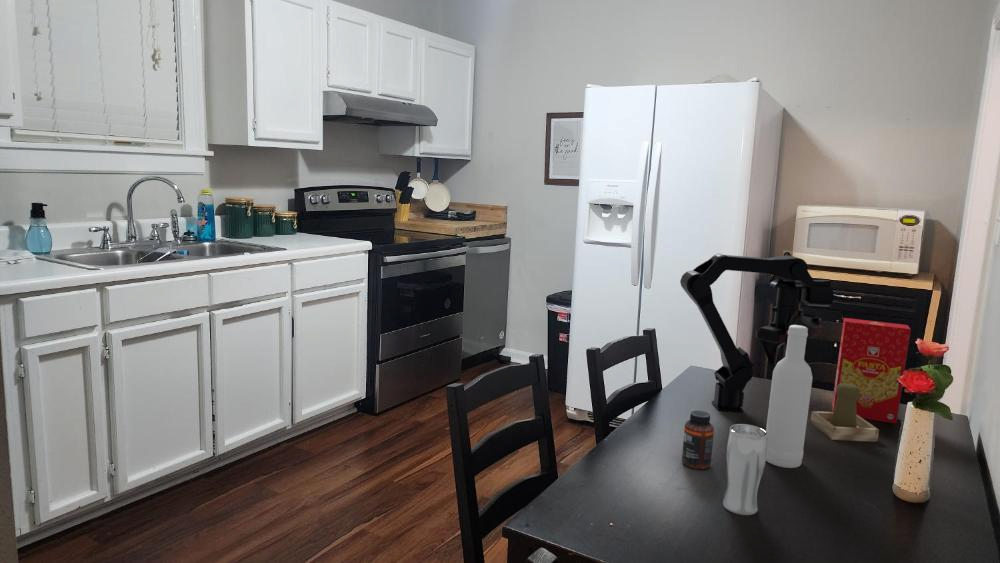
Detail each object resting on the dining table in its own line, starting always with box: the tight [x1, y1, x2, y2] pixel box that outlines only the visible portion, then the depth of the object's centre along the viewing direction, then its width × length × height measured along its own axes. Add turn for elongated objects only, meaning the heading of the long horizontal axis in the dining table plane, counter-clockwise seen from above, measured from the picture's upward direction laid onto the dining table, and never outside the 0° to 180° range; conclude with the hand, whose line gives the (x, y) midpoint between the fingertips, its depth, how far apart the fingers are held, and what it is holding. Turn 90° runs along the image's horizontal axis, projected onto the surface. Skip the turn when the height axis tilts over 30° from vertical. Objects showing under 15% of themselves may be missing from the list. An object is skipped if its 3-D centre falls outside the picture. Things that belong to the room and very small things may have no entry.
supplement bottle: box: [681, 410, 715, 470], centre depth 142 cm, size 6×6×11 cm
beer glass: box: [722, 423, 768, 516], centre depth 124 cm, size 7×7×15 cm
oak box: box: [810, 410, 880, 443], centre depth 165 cm, size 11×11×3 cm
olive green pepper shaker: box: [830, 383, 860, 428], centre depth 164 cm, size 6×6×11 cm
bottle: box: [765, 325, 813, 469], centre depth 144 cm, size 8×8×30 cm
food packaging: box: [831, 317, 912, 424], centre depth 176 cm, size 15×5×25 cm, turn 67°
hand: (781, 362), depth 177 cm, fingers open, 9 cm apart
